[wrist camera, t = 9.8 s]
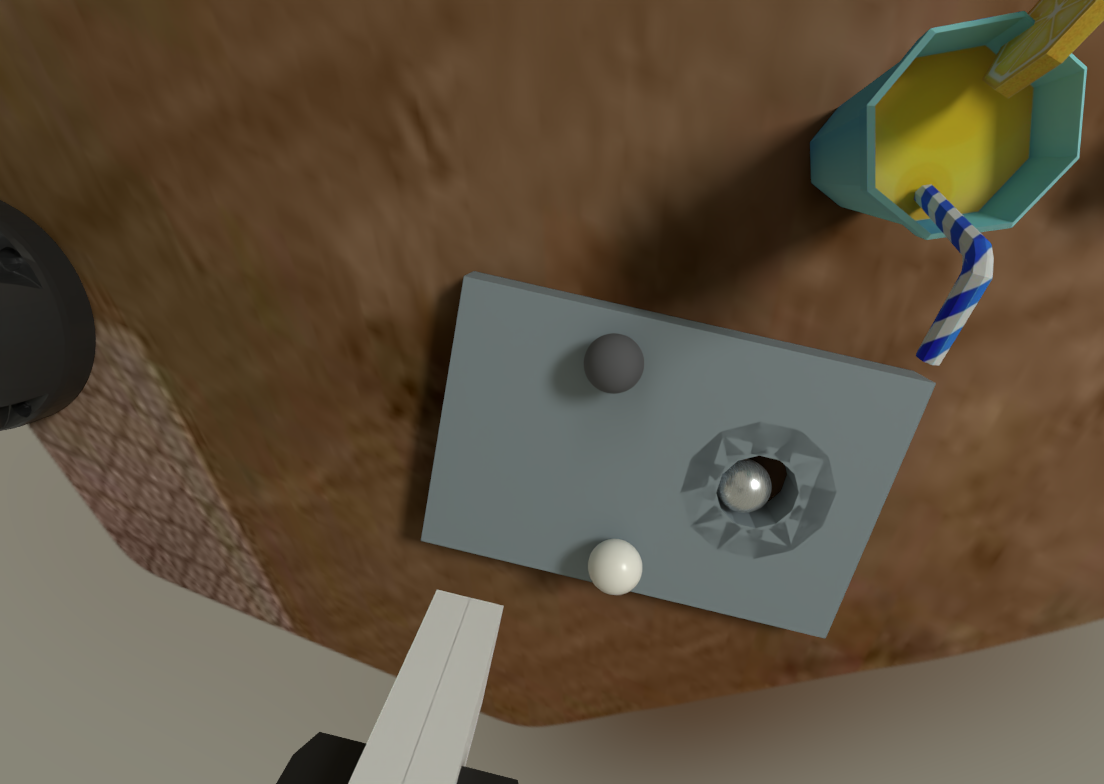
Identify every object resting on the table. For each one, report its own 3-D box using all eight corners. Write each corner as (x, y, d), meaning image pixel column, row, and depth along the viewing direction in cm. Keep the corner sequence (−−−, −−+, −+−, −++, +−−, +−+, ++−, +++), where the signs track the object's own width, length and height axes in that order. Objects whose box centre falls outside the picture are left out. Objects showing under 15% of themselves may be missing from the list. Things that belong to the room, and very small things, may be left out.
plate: (432, 521, 41) (420, 540, 38) (474, 271, 35) (464, 276, 33) (812, 612, 40) (825, 638, 38) (913, 371, 35) (935, 383, 32)
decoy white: (584, 567, 38) (581, 599, 35) (595, 523, 37) (593, 552, 34) (633, 579, 38) (635, 612, 35) (647, 535, 37) (650, 565, 34)
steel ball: (726, 522, 35) (772, 524, 36) (743, 472, 34) (790, 476, 35) (699, 493, 37) (742, 496, 38) (714, 447, 36) (758, 451, 37)
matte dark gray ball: (579, 376, 34) (575, 393, 31) (592, 322, 33) (589, 334, 30) (634, 389, 34) (636, 407, 31) (649, 335, 33) (652, 348, 30)
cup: (871, 317, 34) (1058, 399, 20) (737, 283, 34) (825, 339, 20) (985, 44, 30) (1329, -104, 15) (831, 6, 30) (1030, -175, 16)
